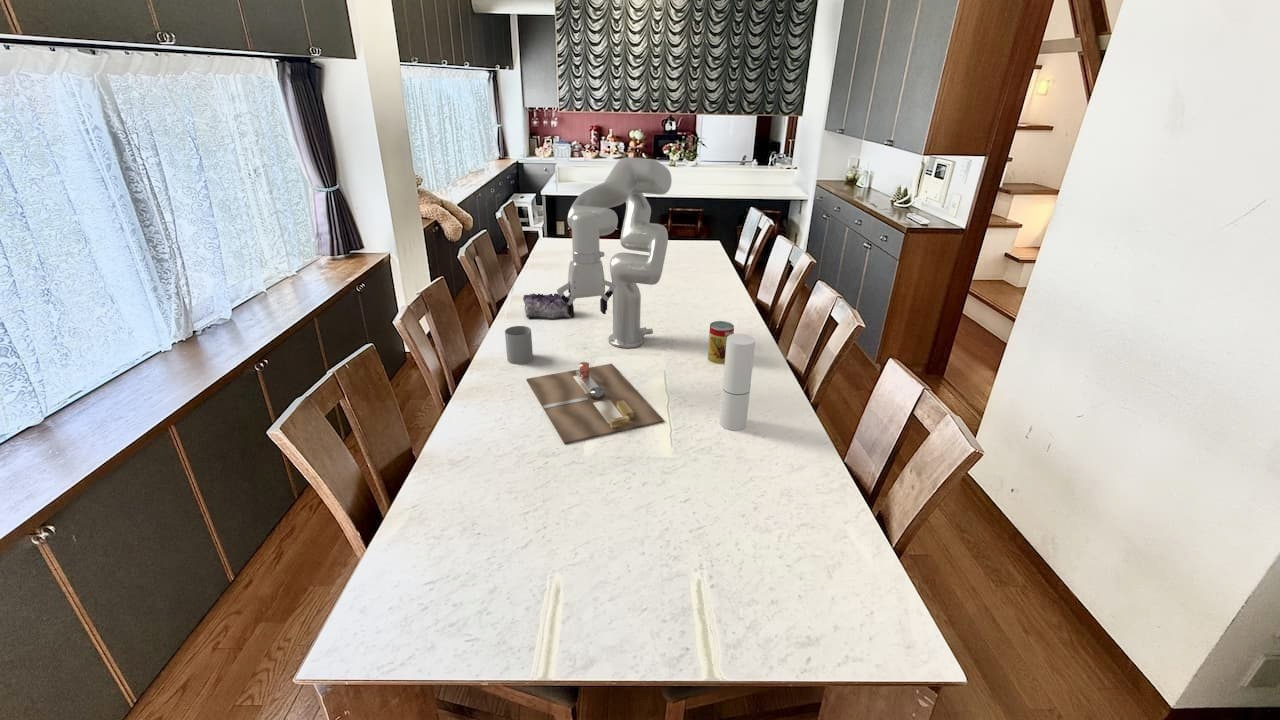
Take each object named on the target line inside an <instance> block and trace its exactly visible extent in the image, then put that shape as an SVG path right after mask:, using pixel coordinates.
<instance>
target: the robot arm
mask: <svg viewBox="0 0 1280 720" xmlns="http://www.w3.org/2000/svg"><path fill="white" fill-rule="evenodd" d="M672 182H673V181H672V174H671V172H670V170H669V168H667V167H666V166H665V165H664V164H662V163H661V162H659V161H657V160H655V159H653V158H640V157H623V158H620V159H619V160H618V161H617V162H616V164H615V165H614V167H613V168H612V169H611V172H610V173H609V174H608V176H607V177H606V178H605V181H604V182H602V183H600V184H597V185H595V186H593V187H591V188H589V189H586V190H585V191H582V193H580V194H579V195H578V196H577V198H576V199H575V200H574V201H573V203H572V205H571V207H570V209H569V210H568V213H567V224H568V227H569V228H570V229H571V236H572V240H571V242H572V260H570V262H569V265H568V274H567V283H565V284H563V285H562V286H561V287H559V288H557V289H556V292H557V294H559V295H560V297H561V299H562V300H563V301H565V302H566V303H567V314H569V315H570V317H571V318H570V319H573V318H574V317H575V315H574V314H575V311H574V309H575V307H574V302H575V300H576V299H581V298H592V297H601V298H600V302H599V305H600V307H599V308H600V309H599V310H600V312H601V313H602V315H606V314H607V311H608V301H609V300H610V298H611V296H612V334H610V335H609V336H608V342H609V344H610V345H612V346H614V347H616V348H621V349H630V348H631V349H632V348H637V347H639V346H642V345H643V344H644V342H645V336H646V335H652V334H653V333H654V329H653V328H647V327H646V326H645V327H641V306H642V305H641V302H642V301H641V299H642V297H641V295H642V294H641V290H640V288H639V286H638V284H639V285H640V284H642V285H648V286H649V285H650V286H653V285H657V284H658V283H659V282H660V280H661V278H662V274H663V269H664V264H665V258H666V254H667V249H668V243H669V234H668V232H669V231H668V230H667V228H666V227H665V226H664V225H662V224H660V223H653V222H650V221H651V214H652V207H651V205H650V202H649V201H648V199H647V198H646V197H645V195H644V194H648V195H650V194H651V195H660V196H661V195H666V194H667V193H668V192H669V191H670V190H671V187H672ZM624 203H625V206H626V207H625V214H624V218H623V223H622V227H621V231H620V233H621V234H620V240H619V241H620V245H621V246H622V247H623V248H624V249H626V250H628V251H635V252H636V251H637V252H642V253H644V252H645V253H649V254H639V253H632V252H618V253H615V254H614V255H612V257H611V259H610V262H609V273H610V277H611V281H609V280H607V279H605V272H604V265H603V262H602V260H601V258H603V257H605V252H604V251H601V250H600V237H603V236H608V235H611V234H613V233H614V232H615V230H616V229H617V228H618V225H619V224H618V223H619V218H618V214H617V213H616V211H615V210H613V209H611V208H614V207H617V206H618V207H619V206H621V205H622V204H624ZM606 287H609V288H608V290H607V291H606ZM565 292H567V293H568V295H567V296H568V297H567V296H566V295H565V294H564V293H565ZM572 303H573V304H572Z"/></svg>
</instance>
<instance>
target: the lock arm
mask: <svg viewBox="0 0 1280 720" xmlns="http://www.w3.org/2000/svg"><path fill="white" fill-rule="evenodd" d="M589 368H590V363H589V362H587V361H583V362H580V363H579V369H580V371H576V375H577V376H578V378H579V379H580V380H581V382H582V383H583V384H584V386H585V387H586V388H587V389H588V391H589V392H590V395H591V398H593V399H602V398H604V389H603V388H600V387H599V386H598V385H597V384H596V383H595V382H594V380H593V379H592V378H591V377H590V375H589Z"/></svg>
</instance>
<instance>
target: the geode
mask: <svg viewBox="0 0 1280 720" xmlns="http://www.w3.org/2000/svg"><path fill="white" fill-rule="evenodd" d="M566 297H568V295H567V296H566ZM522 301H523V303H524V312H525V317H526V318H541V319H548V320H555V319H560V318H565V319H572V318H571V317H570V315H569V314H567V303H566V302H565V301H563V300H562V299H561V297H560V295H559V294H558V293H556V292H555V293H550V294H543V293H538V294H536V293H530V294H524V295H523V298H522ZM572 304H573V305H574V302H573V303H572ZM574 316H575V313H574Z"/></svg>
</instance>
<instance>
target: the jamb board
mask: <svg viewBox="0 0 1280 720" xmlns="http://www.w3.org/2000/svg"><path fill="white" fill-rule="evenodd" d="M576 371H580V368H578V369H573V370H568V371H563V372H557V373H551V374H545V375H539V376H534V377H529V378H526V382H527V384H528V385H529V387H530V389H531V390H532V392H533V394H534V396H535V397H536V398H537V401H538V402H539V403H540V405H541V407H542V409H543V411H544V412H545V413H546V416H547V417H548V419H549V420H550V422H551V423H552V425H553V427H554V428H555V431H556V432H557V434H558V436H559V437H560V438H561V441H562V442H563V444H564V445H568V444H571V443H575V442H576V443H577V442H580V441H584V440H590V439H594V438H599V437H603V436H607V435H611V434H616V433H621V432H625V431H630V430H635V429H637V428H644V427H648V426H652V425H655V424H660V423H664V419H663V418H662V416H661V415H660V414H659V413H658V412H657V411H656V410H655V409H654V408H653V407H652V406H651V405H650V404H649V402H648V401H647V400H646V399H645V398H644V397H643V396H642V395H641V393H639V392H638V390H637V389H636V388H635V387H634V386H633V384H631V382H629V381H628V379H627V378H626V377H625V376H623V374H622V373H621V372H620V371H619V370H618V368H616V366H615V365H614V364H613V363H607V364H601V365H596V366H595V365H594V366H589V375H590V377H591V378H592V379H593V380H594V382H595V383H596V384H597V385H598V386H599V387H600V388H603V389H604V398H602V399H593V398H591V395H590V392H589V391H588V389H587V388H586V387H585V386H584V384H583V383H582V382H581V380H580V379H579V378H578V376H577V375H576Z"/></svg>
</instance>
